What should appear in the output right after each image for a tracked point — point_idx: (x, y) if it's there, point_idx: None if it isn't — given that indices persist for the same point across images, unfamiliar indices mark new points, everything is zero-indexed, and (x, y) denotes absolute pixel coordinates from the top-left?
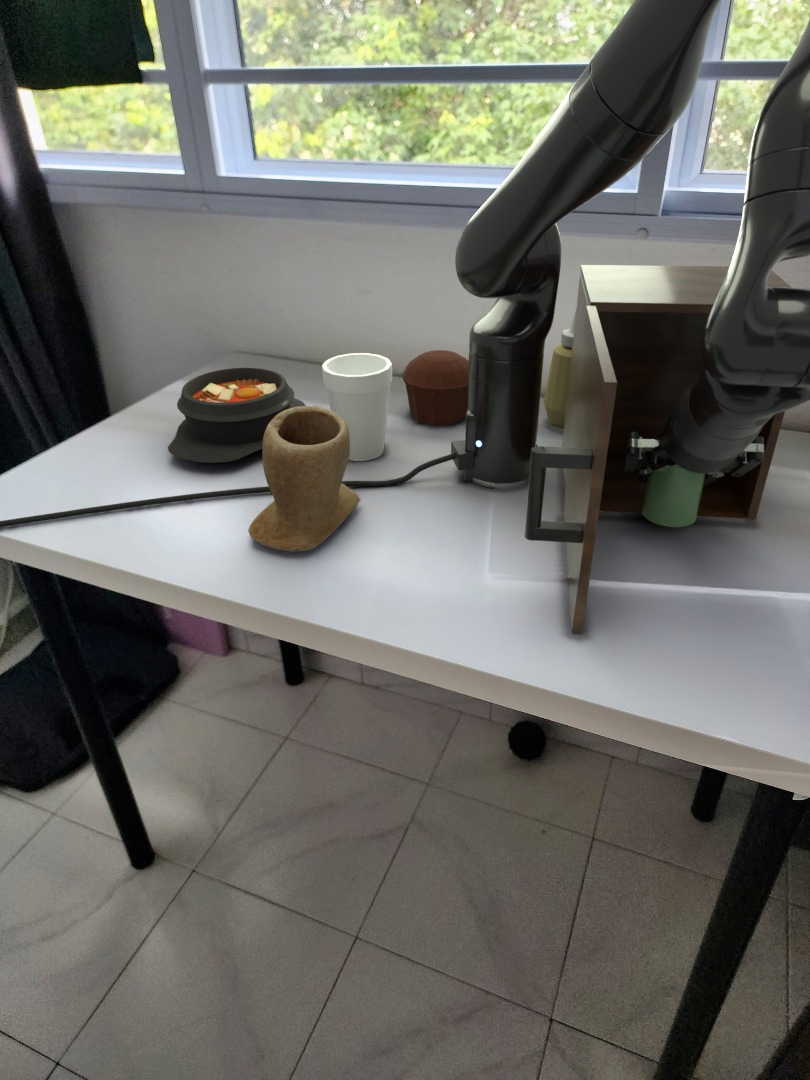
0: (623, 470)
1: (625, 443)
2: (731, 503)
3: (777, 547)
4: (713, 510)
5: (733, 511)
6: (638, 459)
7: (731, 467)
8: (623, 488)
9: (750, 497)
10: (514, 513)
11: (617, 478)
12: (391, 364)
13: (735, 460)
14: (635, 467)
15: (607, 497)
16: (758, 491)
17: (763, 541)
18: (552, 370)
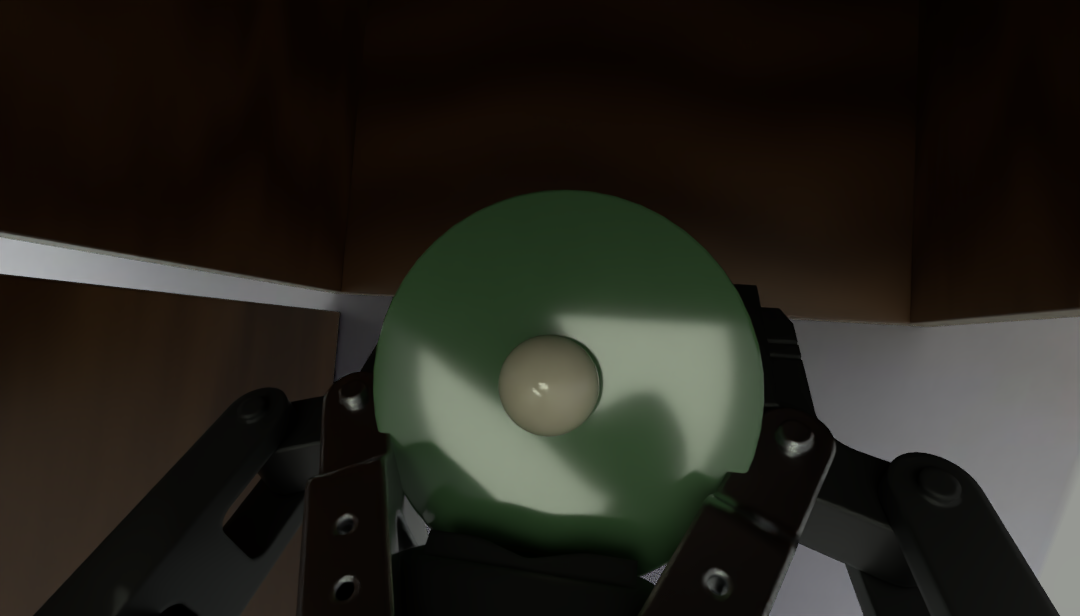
0: (530, 10)
1: (136, 512)
2: (878, 213)
3: (977, 468)
4: (792, 270)
5: (869, 273)
6: (309, 471)
7: (853, 559)
8: (507, 140)
9: (955, 297)
10: (207, 284)
11: (500, 72)
12: None
13: (897, 556)
14: (297, 528)
15: (445, 207)
16: (1005, 318)
17: (935, 428)
18: None
